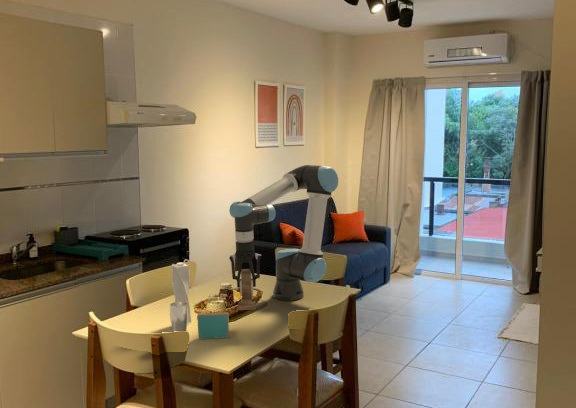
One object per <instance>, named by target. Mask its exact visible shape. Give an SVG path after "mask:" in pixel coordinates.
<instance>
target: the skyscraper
mask: <svg viewBox="0 0 576 408" xmlns="http://www.w3.org/2000/svg"><path fill="white" fill-rule="evenodd" d="M186 261H187V264H186V263H185V262H186ZM190 273H191V272H190V260H189V259H186V258H185V259H184V260H183V262H177V263H176V264H175V263H172V264H171V284H172V291H173V296H174V302H178V301H183V302H186V303H187V308H188V323H187V326H188V325H189V324H190V323H191V322H192V314H191V306H190V301H189V299H190V298H189V291H190V285H191V284H190V283H191V274H190Z"/></svg>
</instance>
